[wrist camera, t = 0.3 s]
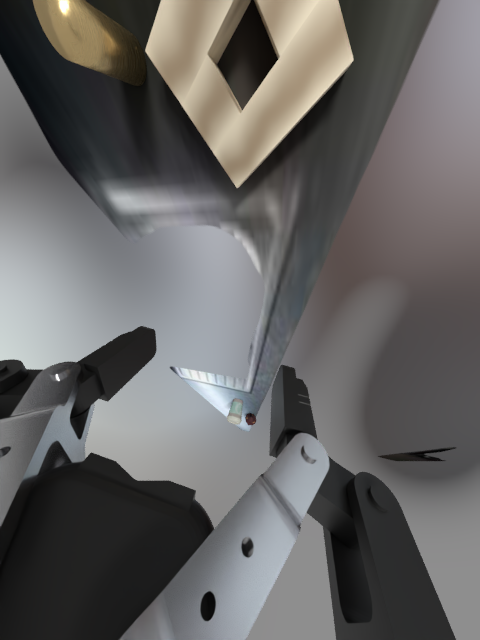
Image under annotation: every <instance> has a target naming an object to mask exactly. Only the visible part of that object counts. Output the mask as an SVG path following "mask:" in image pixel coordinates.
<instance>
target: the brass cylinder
mask: <svg viewBox="0 0 480 640" xmlns="http://www.w3.org/2000/svg"><path fill="white" fill-rule="evenodd" d="M33 3H34V7H35V10H36V13H37V16H38V19H39V21H40V24H41V26H42V28H43V30H44V32H45V34H46V36H47V37H48V39H49V41H50V42H51V44H52V45H53V46H54V48H55V49H56V50H57V51H58V52H59V53H60V54H61V55H62V56H63V57H64V58H65V59H67V60H69V61H72V62H74V63H77V64H80V65H82V66H85V67H88V68H90V69H93V70H95V71H98V72H101V73H103V74H106V75H108V76H111V77H114V78H116V79H119V80H122V81H124V82H127V83H129V84H132V85H135V86H140V85H142V84H143V83H144V81H145V78H146V61H145V56H144V53H143V50H142V48H141V46H140V44H139V42H138V40H137V39H136V37H135V36H134V35H133V34H132V33H131V32H129V31H128V30H126V29H125V28H123V27H122V26H121V25H119V24H118V23H116V22H115V21H113V20H112V19H110V18H109V17H108V16H106V15H105V14H103V13H102V12H100V11H99V10H98V9H96V8H95V7H93V6H92V5H90V4H89V3H88V2H86V1H85V0H33Z"/></svg>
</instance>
